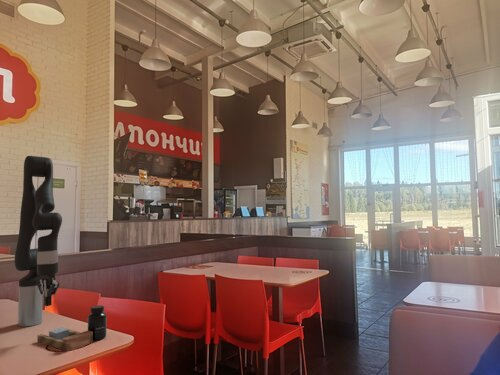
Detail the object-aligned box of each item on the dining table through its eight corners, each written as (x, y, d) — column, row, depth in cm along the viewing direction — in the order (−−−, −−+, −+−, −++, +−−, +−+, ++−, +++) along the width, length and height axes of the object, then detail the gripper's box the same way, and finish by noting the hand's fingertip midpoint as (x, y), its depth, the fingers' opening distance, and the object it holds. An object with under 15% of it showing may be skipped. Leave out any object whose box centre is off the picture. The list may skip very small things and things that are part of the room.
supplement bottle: (99, 341, 139) (99, 309, 140) (83, 340, 141) (83, 308, 141) (110, 335, 146) (110, 304, 147) (94, 334, 147) (94, 304, 148)
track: (37, 341, 141) (37, 331, 141) (62, 334, 149) (62, 324, 149) (67, 351, 130) (67, 339, 130) (92, 342, 138) (92, 331, 139)
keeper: (48, 341, 141) (49, 331, 141) (61, 337, 145) (61, 327, 145) (56, 344, 138) (56, 333, 139) (68, 339, 142) (68, 329, 143)
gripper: (29, 262, 148) (29, 306, 147) (47, 264, 142) (47, 309, 140) (47, 260, 155) (48, 301, 154) (66, 261, 148) (66, 305, 147)
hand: (47, 305), depth 147 cm, fingers closed
